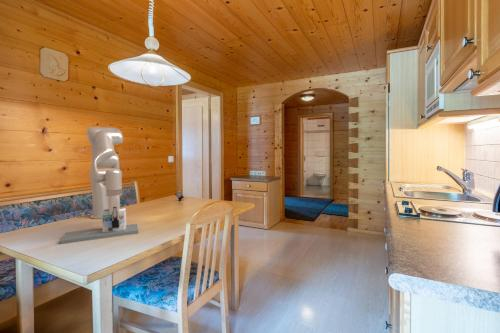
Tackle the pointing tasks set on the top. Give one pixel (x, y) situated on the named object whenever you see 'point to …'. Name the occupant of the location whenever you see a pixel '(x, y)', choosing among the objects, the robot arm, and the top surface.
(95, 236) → the slate board
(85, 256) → the top surface
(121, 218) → the light bulb box
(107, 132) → the robot arm
